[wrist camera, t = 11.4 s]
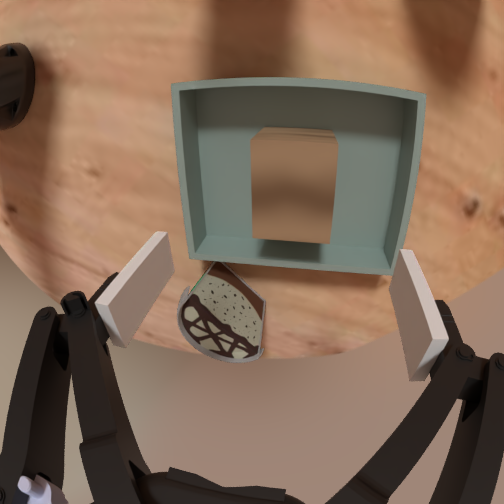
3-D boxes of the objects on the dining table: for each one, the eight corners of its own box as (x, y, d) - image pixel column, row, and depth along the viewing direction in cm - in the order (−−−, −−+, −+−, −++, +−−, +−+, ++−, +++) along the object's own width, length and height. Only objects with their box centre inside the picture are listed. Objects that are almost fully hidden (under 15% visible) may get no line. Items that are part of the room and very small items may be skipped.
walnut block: (264, 126, 30) (250, 139, 23) (332, 129, 29) (338, 144, 22) (265, 204, 34) (252, 238, 28) (326, 208, 33) (329, 244, 27)
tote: (202, 238, 39) (189, 258, 35) (190, 82, 29) (170, 83, 25) (387, 252, 35) (395, 275, 31) (410, 91, 25) (426, 94, 21)
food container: (183, 272, 43) (154, 319, 35) (209, 249, 40) (182, 297, 32) (243, 324, 46) (228, 375, 38) (272, 307, 43) (261, 361, 35)
